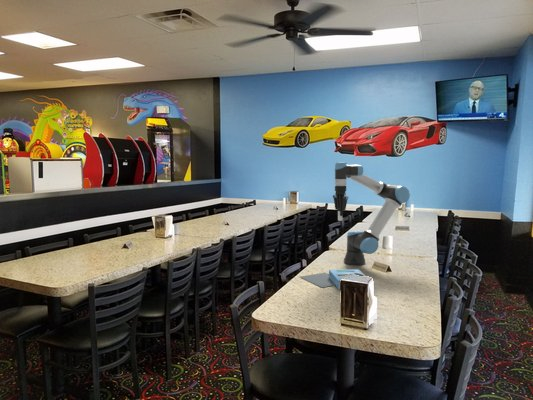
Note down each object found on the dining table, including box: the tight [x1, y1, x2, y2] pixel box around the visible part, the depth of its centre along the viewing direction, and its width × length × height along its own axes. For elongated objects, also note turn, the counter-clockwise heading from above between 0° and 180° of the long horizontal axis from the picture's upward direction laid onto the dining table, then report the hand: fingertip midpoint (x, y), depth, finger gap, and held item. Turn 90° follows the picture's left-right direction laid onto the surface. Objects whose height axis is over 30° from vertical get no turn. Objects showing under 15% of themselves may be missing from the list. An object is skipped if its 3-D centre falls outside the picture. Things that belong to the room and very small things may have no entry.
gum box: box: [328, 269, 366, 291], centre depth 229 cm, size 20×5×23 cm
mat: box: [299, 272, 335, 289], centre depth 236 cm, size 20×23×1 cm
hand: (340, 220), depth 256 cm, fingers closed
